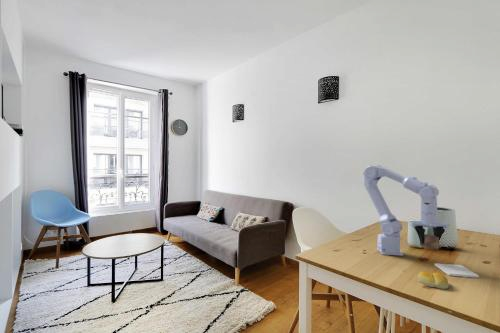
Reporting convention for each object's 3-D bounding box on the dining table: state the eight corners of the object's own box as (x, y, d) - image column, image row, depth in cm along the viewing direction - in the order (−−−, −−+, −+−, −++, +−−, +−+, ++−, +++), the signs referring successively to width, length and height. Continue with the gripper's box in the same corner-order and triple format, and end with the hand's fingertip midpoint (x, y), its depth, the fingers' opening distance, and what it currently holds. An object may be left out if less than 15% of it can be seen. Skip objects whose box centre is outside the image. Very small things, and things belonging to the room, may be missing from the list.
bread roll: (417, 276, 94) (417, 266, 94) (446, 282, 89) (446, 271, 89) (418, 285, 87) (418, 274, 87) (450, 292, 82) (450, 280, 82)
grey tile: (449, 275, 95) (449, 273, 95) (434, 265, 104) (434, 263, 104) (478, 277, 93) (478, 275, 93) (461, 267, 102) (461, 265, 102)
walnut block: (425, 248, 105) (425, 237, 105) (419, 244, 110) (419, 233, 110) (438, 249, 104) (438, 237, 104) (432, 245, 109) (432, 234, 109)
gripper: (415, 213, 105) (415, 245, 105) (453, 215, 102) (453, 247, 102) (407, 210, 112) (407, 240, 112) (443, 212, 109) (443, 242, 109)
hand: (429, 243), depth 107 cm, fingers closed on walnut block, 5 cm apart
